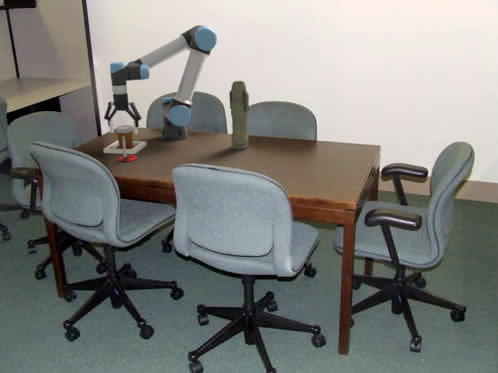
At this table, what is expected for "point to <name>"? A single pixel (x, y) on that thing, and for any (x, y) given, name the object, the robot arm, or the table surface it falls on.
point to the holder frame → (138, 147)
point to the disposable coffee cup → (125, 136)
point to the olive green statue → (239, 114)
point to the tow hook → (125, 157)
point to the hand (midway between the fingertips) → (124, 132)
